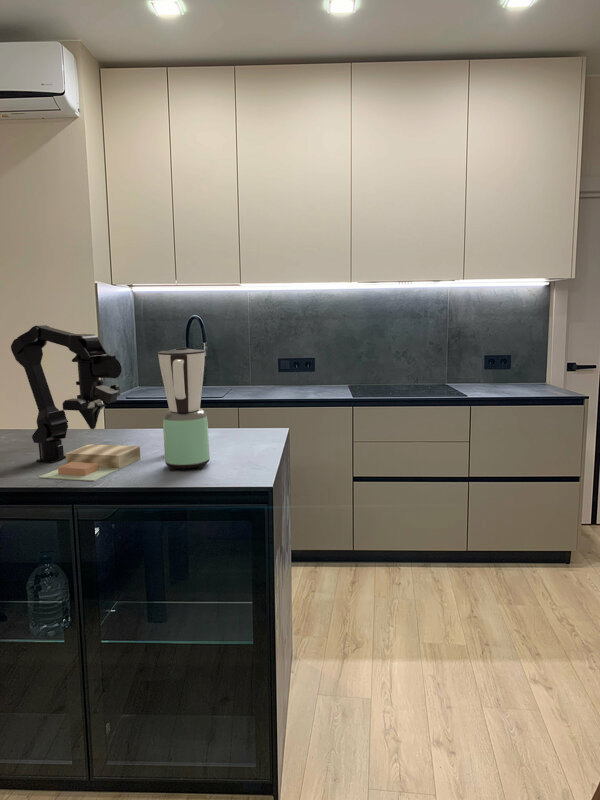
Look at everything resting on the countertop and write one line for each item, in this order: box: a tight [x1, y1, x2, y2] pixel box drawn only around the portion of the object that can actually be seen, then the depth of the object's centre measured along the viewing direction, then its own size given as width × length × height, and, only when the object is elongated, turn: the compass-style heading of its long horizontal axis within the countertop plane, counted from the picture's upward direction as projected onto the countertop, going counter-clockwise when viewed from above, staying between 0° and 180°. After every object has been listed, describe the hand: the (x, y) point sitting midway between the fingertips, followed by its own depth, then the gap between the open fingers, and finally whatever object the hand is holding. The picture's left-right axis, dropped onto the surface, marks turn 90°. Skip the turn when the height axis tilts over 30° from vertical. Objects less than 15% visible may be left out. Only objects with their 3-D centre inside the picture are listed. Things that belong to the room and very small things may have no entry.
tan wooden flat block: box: [65, 443, 141, 470], centre depth 184 cm, size 18×12×4 cm, turn 75°
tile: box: [57, 462, 98, 476], centre depth 173 cm, size 9×6×2 cm, turn 74°
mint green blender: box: [157, 347, 211, 472], centre depth 174 cm, size 19×13×35 cm
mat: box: [38, 467, 120, 482], centre depth 173 cm, size 18×12×1 cm, turn 75°
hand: (92, 429), depth 180 cm, fingers closed
